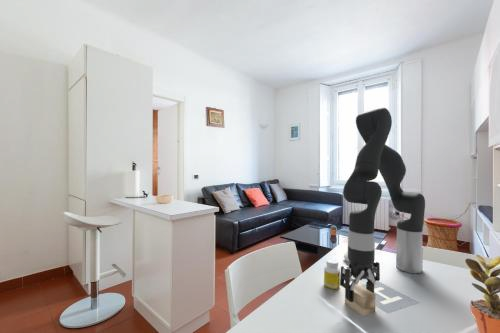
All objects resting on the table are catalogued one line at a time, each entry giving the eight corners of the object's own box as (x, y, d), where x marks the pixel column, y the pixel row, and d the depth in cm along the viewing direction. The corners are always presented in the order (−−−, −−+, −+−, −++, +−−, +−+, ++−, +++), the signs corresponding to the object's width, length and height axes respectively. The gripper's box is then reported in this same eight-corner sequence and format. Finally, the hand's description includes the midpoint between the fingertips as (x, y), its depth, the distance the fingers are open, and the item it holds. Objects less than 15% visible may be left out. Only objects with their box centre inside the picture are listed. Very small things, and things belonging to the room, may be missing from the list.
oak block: (356, 301, 78) (356, 283, 78) (375, 314, 71) (375, 294, 71) (344, 304, 76) (345, 286, 76) (362, 318, 69) (363, 297, 69)
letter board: (377, 282, 90) (377, 281, 90) (419, 304, 77) (419, 302, 77) (348, 290, 84) (348, 288, 84) (387, 315, 71) (387, 313, 71)
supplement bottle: (340, 293, 83) (341, 265, 82) (324, 291, 84) (325, 263, 84) (338, 285, 88) (338, 258, 88) (323, 283, 89) (323, 257, 89)
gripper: (367, 239, 79) (366, 287, 80) (334, 244, 74) (333, 296, 74) (388, 246, 73) (386, 299, 73) (353, 253, 67) (352, 310, 67)
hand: (360, 297), depth 73 cm, fingers open, 8 cm apart
